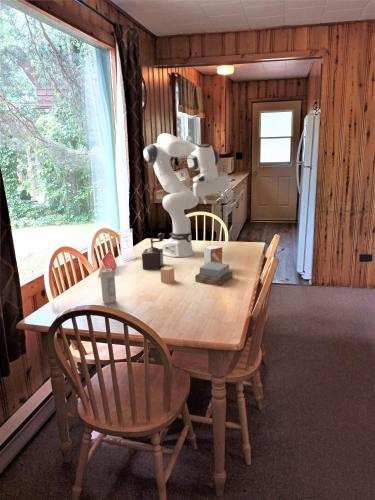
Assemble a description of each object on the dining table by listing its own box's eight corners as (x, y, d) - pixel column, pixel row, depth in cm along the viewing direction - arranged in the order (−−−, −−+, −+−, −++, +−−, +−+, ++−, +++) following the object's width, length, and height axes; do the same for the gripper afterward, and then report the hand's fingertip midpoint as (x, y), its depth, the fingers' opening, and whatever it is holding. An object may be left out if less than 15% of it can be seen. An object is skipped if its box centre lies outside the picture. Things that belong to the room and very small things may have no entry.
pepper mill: (161, 269, 226) (160, 238, 221) (142, 269, 227) (140, 238, 222) (166, 261, 241) (165, 232, 236) (148, 261, 242) (146, 231, 237)
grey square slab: (199, 275, 205) (199, 267, 204) (210, 268, 214) (210, 261, 213) (219, 278, 199) (219, 270, 198) (228, 271, 208) (228, 264, 207)
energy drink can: (110, 298, 187) (107, 267, 183) (119, 301, 183) (116, 269, 179) (100, 302, 182) (97, 270, 178) (108, 305, 178) (106, 273, 174)
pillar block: (161, 282, 206) (160, 268, 205) (166, 279, 210) (166, 266, 209) (169, 283, 204) (168, 270, 202) (174, 280, 208) (174, 267, 206)
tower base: (195, 282, 206) (195, 275, 205) (208, 274, 217) (208, 267, 216) (220, 287, 198) (220, 279, 197) (232, 278, 210) (232, 271, 209)
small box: (210, 272, 219) (210, 249, 215) (203, 269, 224) (203, 247, 220) (222, 269, 223) (222, 247, 219) (215, 267, 228) (215, 244, 224)
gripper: (224, 171, 217) (228, 196, 221) (189, 179, 211) (194, 205, 215) (229, 171, 211) (234, 197, 215) (194, 180, 206) (199, 206, 209)
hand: (214, 201), depth 215 cm, fingers open, 8 cm apart
